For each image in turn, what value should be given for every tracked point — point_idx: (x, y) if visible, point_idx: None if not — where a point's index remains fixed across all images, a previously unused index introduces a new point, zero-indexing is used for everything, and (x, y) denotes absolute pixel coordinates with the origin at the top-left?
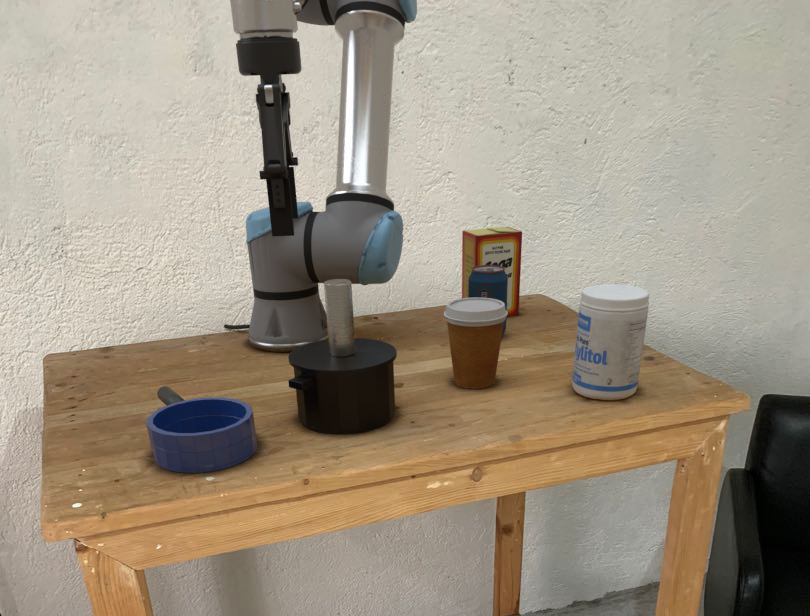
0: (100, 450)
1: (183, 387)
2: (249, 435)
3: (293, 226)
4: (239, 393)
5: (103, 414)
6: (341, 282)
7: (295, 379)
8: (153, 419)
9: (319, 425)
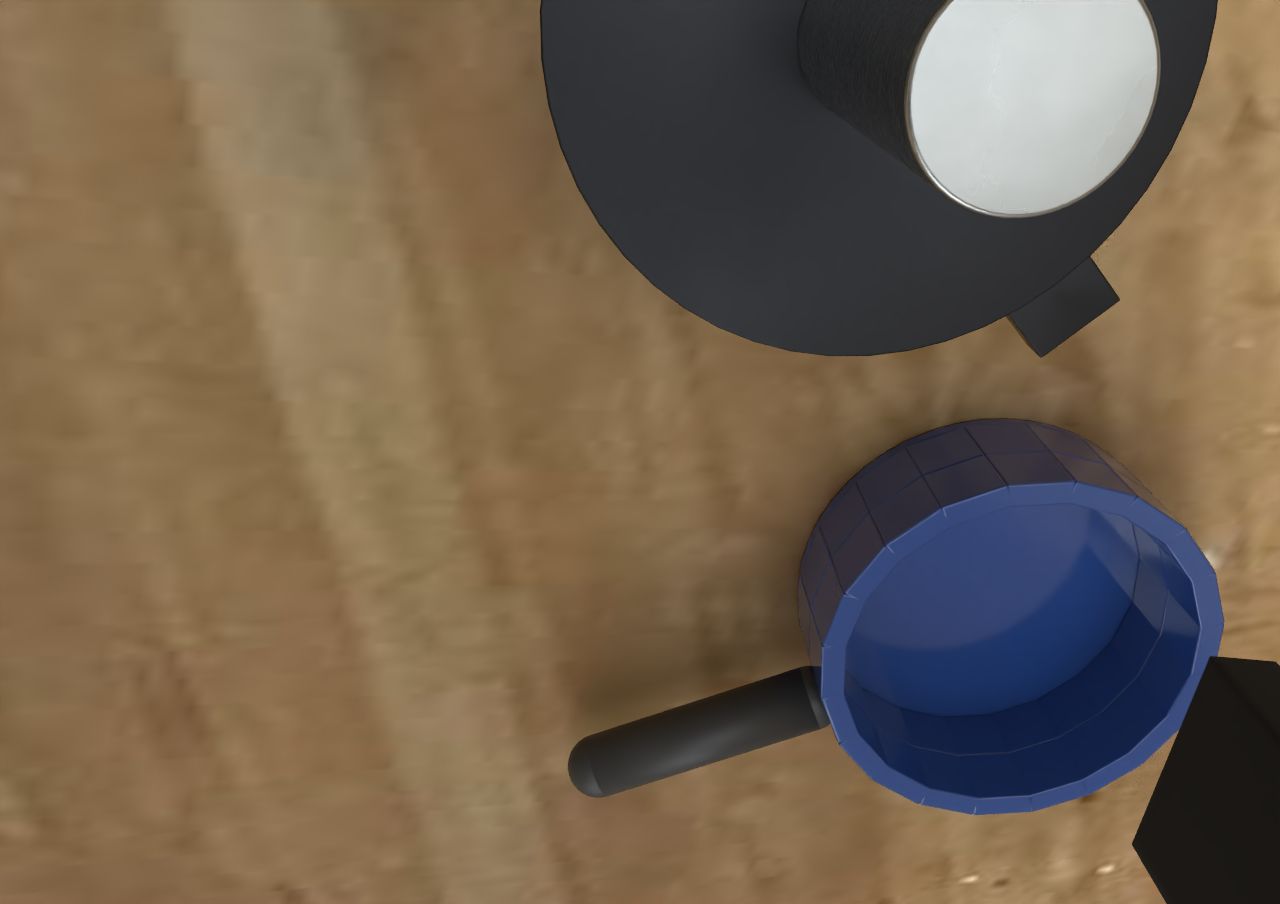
0: (833, 860)
1: (259, 677)
2: (1119, 472)
3: (1271, 714)
4: (379, 471)
5: (508, 889)
6: (1073, 57)
7: (1050, 324)
8: (983, 796)
9: None
